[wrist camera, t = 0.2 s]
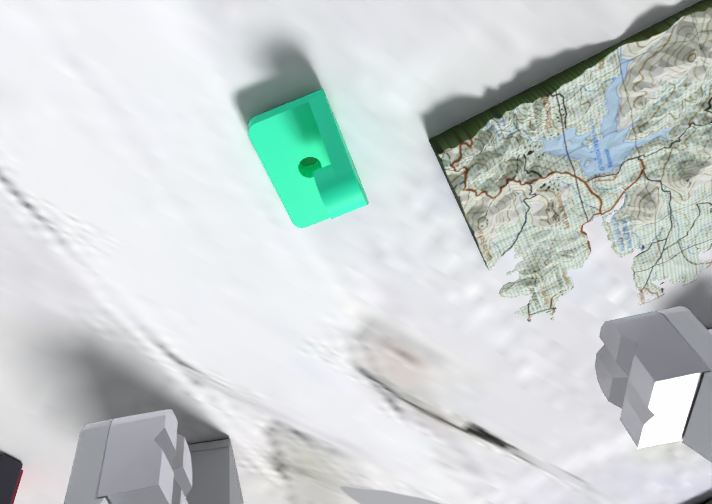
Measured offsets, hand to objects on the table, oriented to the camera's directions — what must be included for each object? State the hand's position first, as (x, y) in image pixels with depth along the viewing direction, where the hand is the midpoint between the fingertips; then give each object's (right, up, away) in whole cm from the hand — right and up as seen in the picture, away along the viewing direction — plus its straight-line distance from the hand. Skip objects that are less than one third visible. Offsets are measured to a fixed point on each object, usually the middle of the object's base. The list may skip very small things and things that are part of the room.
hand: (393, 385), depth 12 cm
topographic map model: (+27, +8, +59) cm, 66 cm away
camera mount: (-5, +12, +50) cm, 51 cm away
